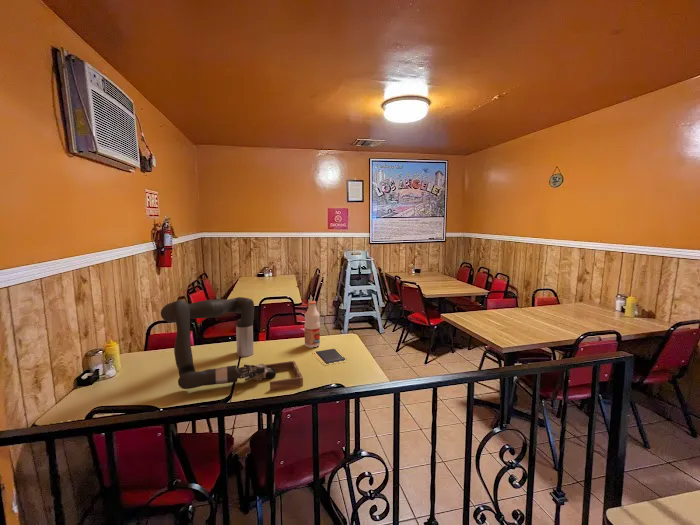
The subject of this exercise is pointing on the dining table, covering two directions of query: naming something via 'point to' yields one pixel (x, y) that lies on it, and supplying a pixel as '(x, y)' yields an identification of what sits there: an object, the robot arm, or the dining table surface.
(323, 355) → the wallet
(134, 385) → the dining table surface
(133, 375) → the dining table surface
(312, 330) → the fruit juice
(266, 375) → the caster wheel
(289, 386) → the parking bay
